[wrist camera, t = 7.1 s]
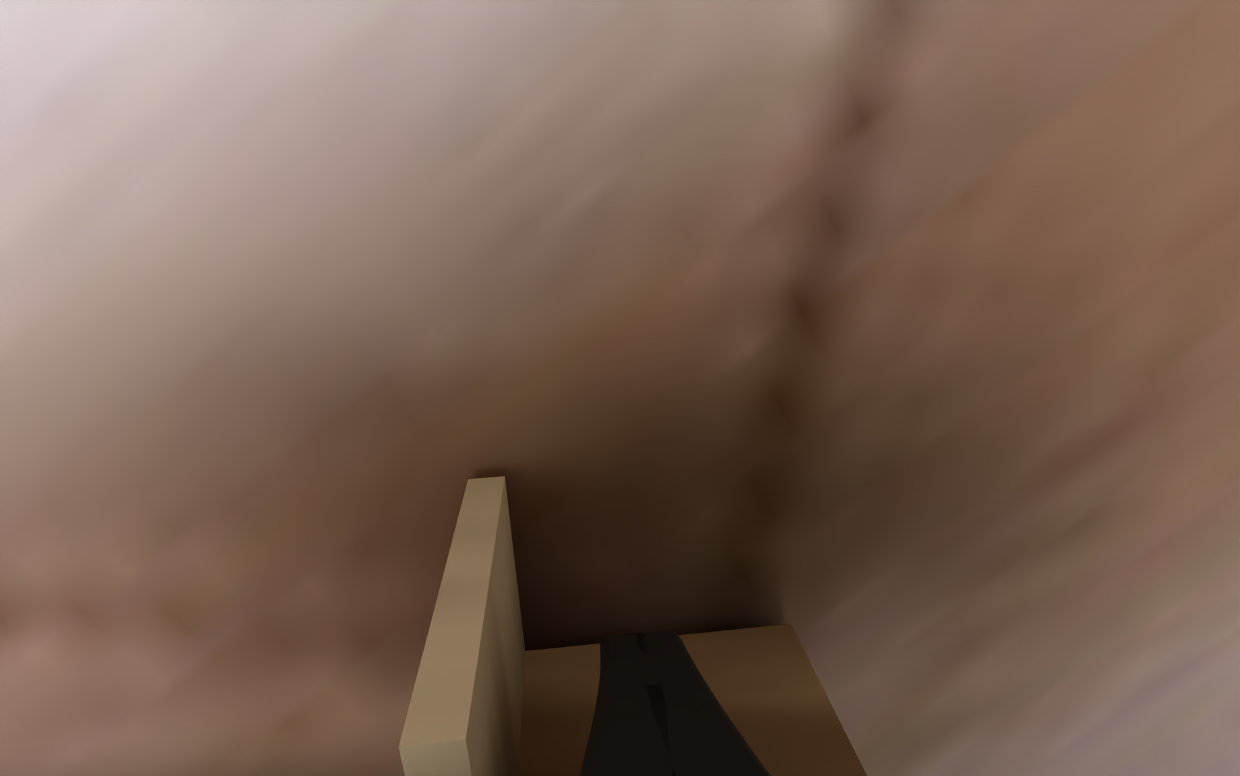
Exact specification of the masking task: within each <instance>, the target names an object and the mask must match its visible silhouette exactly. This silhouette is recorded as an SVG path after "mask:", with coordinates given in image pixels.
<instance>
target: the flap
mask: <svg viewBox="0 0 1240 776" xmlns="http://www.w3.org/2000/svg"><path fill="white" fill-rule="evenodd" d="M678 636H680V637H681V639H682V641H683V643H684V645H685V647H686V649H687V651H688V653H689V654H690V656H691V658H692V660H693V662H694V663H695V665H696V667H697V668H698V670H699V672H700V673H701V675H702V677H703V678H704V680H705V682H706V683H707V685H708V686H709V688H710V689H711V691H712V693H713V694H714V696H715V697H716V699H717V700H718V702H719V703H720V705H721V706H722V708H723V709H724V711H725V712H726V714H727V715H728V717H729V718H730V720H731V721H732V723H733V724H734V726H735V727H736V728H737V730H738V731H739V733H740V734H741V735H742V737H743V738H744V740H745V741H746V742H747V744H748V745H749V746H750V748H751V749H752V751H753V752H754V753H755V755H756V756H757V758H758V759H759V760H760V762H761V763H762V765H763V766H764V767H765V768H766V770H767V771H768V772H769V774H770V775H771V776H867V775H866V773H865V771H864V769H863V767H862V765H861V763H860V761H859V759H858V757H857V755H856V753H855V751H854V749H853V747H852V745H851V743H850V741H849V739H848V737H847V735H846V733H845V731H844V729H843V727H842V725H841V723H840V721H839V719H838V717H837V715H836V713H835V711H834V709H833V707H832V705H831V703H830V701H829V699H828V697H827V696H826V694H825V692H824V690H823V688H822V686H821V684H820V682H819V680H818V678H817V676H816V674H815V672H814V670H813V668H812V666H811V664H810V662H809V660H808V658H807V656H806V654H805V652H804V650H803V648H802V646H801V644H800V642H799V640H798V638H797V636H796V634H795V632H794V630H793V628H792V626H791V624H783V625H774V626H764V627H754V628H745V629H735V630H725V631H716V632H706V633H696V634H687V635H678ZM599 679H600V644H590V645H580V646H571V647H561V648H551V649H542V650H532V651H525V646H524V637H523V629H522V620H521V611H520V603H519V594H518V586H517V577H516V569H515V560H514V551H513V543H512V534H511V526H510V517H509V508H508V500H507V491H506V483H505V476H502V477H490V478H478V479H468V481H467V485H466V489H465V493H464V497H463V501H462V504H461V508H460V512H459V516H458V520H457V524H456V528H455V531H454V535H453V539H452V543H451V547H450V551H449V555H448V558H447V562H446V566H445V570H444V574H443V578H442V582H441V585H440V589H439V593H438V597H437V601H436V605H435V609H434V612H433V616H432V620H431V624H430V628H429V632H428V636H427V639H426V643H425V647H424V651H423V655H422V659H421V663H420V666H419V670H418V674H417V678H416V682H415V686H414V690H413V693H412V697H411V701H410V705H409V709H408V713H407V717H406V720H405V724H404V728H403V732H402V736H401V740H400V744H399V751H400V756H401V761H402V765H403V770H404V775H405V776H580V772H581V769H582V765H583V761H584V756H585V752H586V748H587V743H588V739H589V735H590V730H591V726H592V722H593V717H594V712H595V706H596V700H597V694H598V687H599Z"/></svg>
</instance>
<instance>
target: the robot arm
mask: <svg viewBox="0 0 1240 776" xmlns="http://www.w3.org/2000/svg"><path fill="white" fill-rule="evenodd" d="M580 776H771V775H770V774H769V772H768V771H767V770H766V768H765V767H764V766H763V765H762V763H761V762H760V760H759V759H758V758H757V756H756V755H755V753H754V752H753V751H752V749H751V748H750V746H749V745H748V744H747V742H746V741H745V740H744V738H743V737H742V735H741V734H740V733H739V731H738V730H737V728H736V727H735V726H734V724H733V723H732V721H731V720H730V718H729V717H728V715H727V714H726V712H725V711H724V709H723V708H722V706H721V705H720V703H719V702H718V700H717V699H716V697H715V696H714V694H713V693H712V691H711V689H710V688H709V686H708V685H707V683H706V682H705V680H704V678H703V677H702V675H701V673H700V672H699V670H698V668H697V667H696V665H695V663H694V662H693V660H692V658H691V656H690V654H689V653H688V651H687V649H686V647H685V645H684V643H683V641H682V639H681V637H680V636H678V635H677V634H676V633H675V632H674V631H665V632H651V633H637V634H623V635H610V636H607V637H606V638H605V639H604V640H602V641H601V642H600V679H599V687H598V694H597V700H596V706H595V712H594V717H593V722H592V726H591V730H590V735H589V739H588V743H587V748H586V752H585V756H584V761H583V765H582V769H581V772H580Z"/></svg>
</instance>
